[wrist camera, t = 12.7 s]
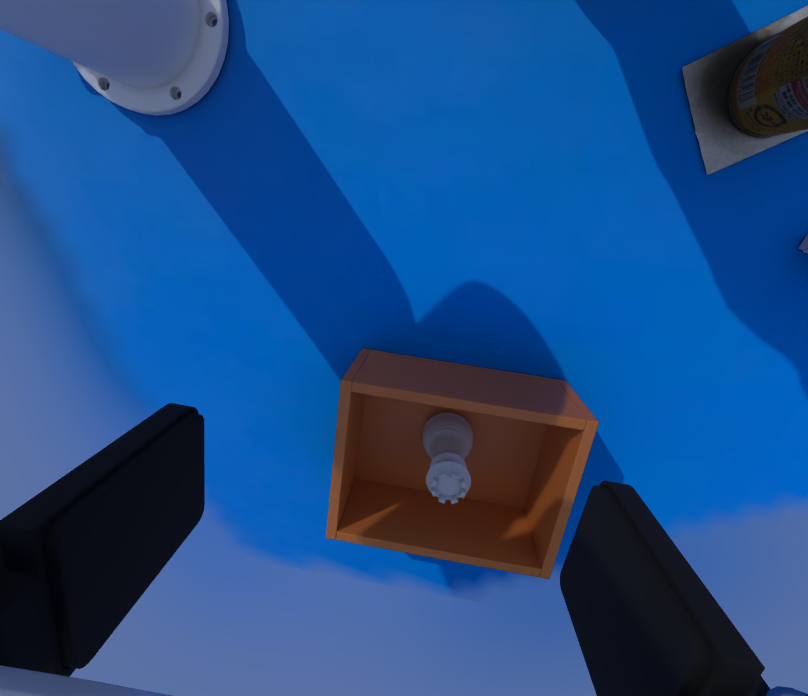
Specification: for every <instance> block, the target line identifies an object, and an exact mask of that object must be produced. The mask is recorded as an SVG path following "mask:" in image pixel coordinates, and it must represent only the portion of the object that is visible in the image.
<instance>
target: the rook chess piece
mask: <svg viewBox="0 0 808 696" xmlns="http://www.w3.org/2000/svg"><path fill="white" fill-rule="evenodd" d="M472 444H473V431H472V429H471V426H470V424H469V423H468V422H467V421H466V420H465V419H464V418H463V417H461V416H459V415H456V414H454V413H441V414H438V415H435V416H433V417H432V418H431V419H430V420H428V421H427V422H426V424H425V426H424V428H423V446H424V448H425V450H426V452H427V454H428V455H429V456H430V457H431V458H432V462H431V464H430V469H429V471H428V473H427V475H426V484H427V486H428V489H429V491H430V492H431V493H432V495H433V497H434V496H436V497H438V501H439V502H441V503H444V504H445V500H451V504H454V503H458V498H460V497H462V498H464V496H465V495H466V493H467V492H468V490H469V488H470V486H471V477H470V474H469V472H468V470H467V466H466V464H465V461H464V459H465V457H467V456H468V454H469V452H470V450H471V448H472Z"/></svg>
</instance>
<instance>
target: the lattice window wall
mask: <svg viewBox="0 0 808 696" xmlns="http://www.w3.org/2000/svg"><path fill="white" fill-rule="evenodd" d="M798 249H800V250H803V252H804V253H807V254H808V234H807V236H806V237H805V239H804V240H803V242H802V243H801V245H800V246H799V248H798Z"/></svg>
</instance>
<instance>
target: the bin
mask: <svg viewBox="0 0 808 696" xmlns="http://www.w3.org/2000/svg"><path fill="white" fill-rule="evenodd" d="M441 413H454V414H456V415H459V416H461V417H463V418H464V419H465V420H466V421H467V422H468V423H469V424H470V426H471V429H472V431H473V444H472V448H471V450H470V452H469V454H468V456H467V457H465V459H464V461H465V464H466V466H467V470H468V472H469V474H470V477H471V486H470V488H469V490H468V492H467V493H466V495H465V496H464V498H462V497H460V498H458V503H454V504H451V500H445V504H444V503H441V502H439V501H438V497H436V496H434V497H433V495H432V493H431V492H430V491H429V489H428V486H427V484H426V475H427V473H428V471H429V469H430V464H431V462H432V458H431V457H430V456H429V455H428V454H427V452H426V450H425V448H424V446H423V428H424V426H425V424H426V422H427V421H428V420H430V419H431V418H432V417H433V416H435V415H438V414H441ZM598 424H599V422H598V420H597V419H596V418H595V417H594V415H593V414H592V413H591V412H590V410H589V409H588V408H587V407H586V405H585V404H584V403H583V402H582V400H581V399H580V398H579V396H578V395H577V394H576V393H575V391H574V390H573V389H572V388H571V386H570V385H569V384H568V383H567V381H565V380H559V379H553V378H546V377H540V376H534V375H528V374H521V373H515V372H509V371H502V370H496V369H490V368H484V367H477V366H471V365H465V364H459V363H452V362H446V361H440V360H434V359H427V358H421V357H415V356H409V355H402V354H396V353H390V352H383V351H377V350H371V349H365V348H362V349H361V351H360V352H359V354H358V355H357V357H356V358H355V360H354V361H353V363H352V364H351V366H350V367H349V369H348V370H347V372H346V373H345V375H344V376H343V378H342V379H341V385H340V395H339V406H338V416H337V427H336V437H335V448H334V458H333V469H332V479H331V490H330V501H329V511H328V522H327V532H326V538H329V539H334V540H335V539H336V540H340V541H345V542H351V543H356V544H362V545H367V546H372V547H378V548H383V549H389V550H394V551H400V552H405V553H410V554H416V555H421V556H427V557H432V558H437V559H443V560H448V561H454V562H459V563H465V564H470V565H475V566H481V567H486V568H492V569H497V570H502V571H508V572H513V573H519V574H524V575H530V576H535V577H540V578H545V579H550V576H551V573H552V569H553V566H554V563H555V560H556V557H557V554H558V550H559V547H560V544H561V541H562V538H563V535H564V531H565V528H566V525H567V522H568V519H569V516H570V512H571V509H572V506H573V503H574V500H575V497H576V493H577V490H578V487H579V484H580V481H581V478H582V474H583V471H584V468H585V465H586V462H587V459H588V456H589V452H590V449H591V446H592V443H593V440H594V437H595V433H596V430H597V427H598Z"/></svg>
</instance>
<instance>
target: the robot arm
mask: <svg viewBox="0 0 808 696" xmlns="http://www.w3.org/2000/svg"><path fill="white" fill-rule="evenodd" d="M216 23H217V24H216ZM215 25H216V26H215ZM0 29H2V30H4V31H6V32H8V33H11V34H13V35H15V36H17V37H20V38H22V39H24V40H26V41H29V42H31V43H33V44H35V45H38V46H40V47H42V48H44V49H47V50H49V51H51V52H53V53H56V54H58V55H60V56H62V57H65V58H67V59H69V60H71V61H72V63H73V64H74V65H75V67H76V68H77V69H78V71H79V72H80V74H81V75H82V76H83V78H84V79H85V80H86V81H87V82H88V83H89V84H90V85H91V86H92V87H93V88H94V89H95V90H96V91H97V92H99V93H100V94H101V95H103V96H104V97H106V98H107V99H108V100H110V101H111V102H113V103H115V104H118V105H120V106H122V107H124V108H126V109H129V110H132V111H135V112H138V113H141V114H147V115H154V116H160V115H171V114H174V113H177V112H180V111H183V110H186V109H187V108H189V107H190V106H192V105H194V104H195V103H197V102H198V101H199V100H200V99H201V98H202V97H203V96H204V95H205V94H206V93H207V92H208V91H209V90H210V88H211V87H212V85H213V83H214V82H215V80H216V79H217V77H218V75H219V73H220V70H221V68H222V65H223V63H224V60H225V55H226V50H227V45H228V34H229V18H228V9H227V1H226V0H0ZM203 511H204V418H203V416H202V415H200V414H198V411H197V409H196V408H195V407H190V406H184V405H179V404H173V403H169V404H167V405H166V406H164V407H163V408H161V409H160V410H158V411H157V412H155V413H154V414H153V415H151V416H150V417H148V418H147V419H145V420H144V421H143V422H141V423H140V424H138V425H137V426H135V427H134V428H133V429H131V430H130V431H128V432H127V433H125V434H124V435H122V436H121V437H120V438H118V439H117V440H115V441H114V442H112V443H111V444H109V445H108V446H107V447H105V448H104V449H102V450H101V451H100V452H98V453H97V454H95V455H94V456H92V457H91V458H89V459H88V460H86V461H85V462H84V463H82V464H81V465H79V466H78V467H76V468H75V469H74V470H72V471H71V472H69V473H68V474H66V475H65V476H64V477H62V478H61V479H59V480H58V481H56V482H55V483H54V484H52V485H51V486H49V487H48V488H46V489H45V490H43V491H42V492H40V493H39V494H38V495H36V496H35V497H33V498H32V499H30V500H29V501H28V502H26V503H25V504H24V505H22V506H20V507H19V508H17V509H16V510H15V511H13V512H12V513H10V514H9V515H7V516H6V517H5V518H3V519H2V520H0V696H171V695H165V694H160V693H155V692H150V691H144V690H139V689H134V688H128V687H123V686H118V685H112V684H107V683H102V682H97V681H91V680H84V679H79V678H73V677H70V675H71V674H72V673H73V672H74V670H75V669H76V668H78V669H80V668H83V667H84V666H86V665H87V664H88V663H89V662H90V661H91V659H92V658H93V657H94V656H95V655H96V653H97V652H98V651H99V649H100V648H101V647H102V646H103V644H104V643H105V642H106V640H107V639H108V638H109V637H110V635H111V634H112V633H113V631H114V630H115V629H116V628H117V626H118V625H119V624H120V622H121V621H122V620H123V619H124V617H125V616H126V615H127V613H128V612H129V611H130V610H131V608H132V607H133V606H134V604H135V603H136V602H137V601H138V599H139V598H140V597H141V595H142V594H143V593H144V592H145V590H146V589H147V588H148V586H149V585H150V584H151V582H152V581H153V580H154V579H155V577H156V576H157V575H158V574H159V572H160V571H161V570H162V568H163V567H164V566H165V564H166V563H167V562H168V561H169V559H170V558H171V557H172V556H173V554H174V553H175V552H176V550H177V549H178V548H179V547H180V545H181V544H182V543H183V541H184V540H185V539H186V538H187V536H188V535H189V534H190V533H191V531H192V530H193V529H194V527H195V526H196V525H197V524H198V522H199V521H200V519H201V517H202V514H203ZM560 586H561V590H562V594H563V596H564V599H565V602H566V605H567V608H568V611H569V614H570V617H571V620H572V623H573V626H574V629H575V632H576V635H577V638H578V641H579V644H580V647H581V650H582V653H583V656H584V658H585V661H586V664H587V668H588V670H589V674H590V676H591V680H592V682H593V685H594V688H595V691H596V694H597V696H808V694H806V693H803V692H801V691H798V690H795V689H793V688H788V687H778V686H777V687H775V688H773V689H770V688H769V687H768V685H767V684H766V682H765V681H764V680H763V678H762V677H761V674H762V672H763V671H764V669H765V667H764V666H763V665H762V663H761V662H760V661H759V659H758V658H757V656H756V655H755V654H754V652H753V651H752V650H751V648H750V647H749V645H748V644H747V643H746V641H745V640H744V639H743V638H742V636H741V635H740V633H739V632H738V631H737V629H736V628H735V626H734V625H733V624H732V622H731V621H730V620H729V618H728V617H727V615H726V614H725V613H724V611H723V610H722V609H721V607H720V606H719V605H718V603H717V602H716V600H715V599H714V598H713V596H712V595H711V594H710V592H709V591H708V589H707V588H706V587H705V585H704V584H703V583H702V581H701V580H700V579H699V577H698V576H697V574H696V573H695V572H694V570H693V569H692V568H691V566H690V565H689V564H688V562H687V561H686V559H685V558H684V557H683V555H682V554H681V552H680V551H679V550H678V549H677V547H676V546H675V544H674V543H673V542H672V540H671V539H670V537H669V536H668V535H667V533H666V532H665V531H664V529H663V528H662V526H661V525H660V524H659V522H658V521H657V520H656V518H655V517H654V516H653V514H652V513H651V511H650V510H649V509H648V507H647V506H646V505H645V503H644V502H643V500H642V499H641V498H640V496H639V495H638V494H637V492H636V491H635V490H634V488H633V487H632V486H630V485H626V484H621V483H615V482H609V481H603V482H601V483H600V485H599V486H594V487H593V488H592V489H591V491H590V494H589V497H588V500H587V502H586V505H585V508H584V510H583V513H582V516H581V519H580V521H579V524H578V527H577V530H576V532H575V535H574V538H573V540H572V543H571V546H570V549H569V551H568V554H567V557H566V559H565V562H564V565H563V568H562V570H561V574H560Z"/></svg>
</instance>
